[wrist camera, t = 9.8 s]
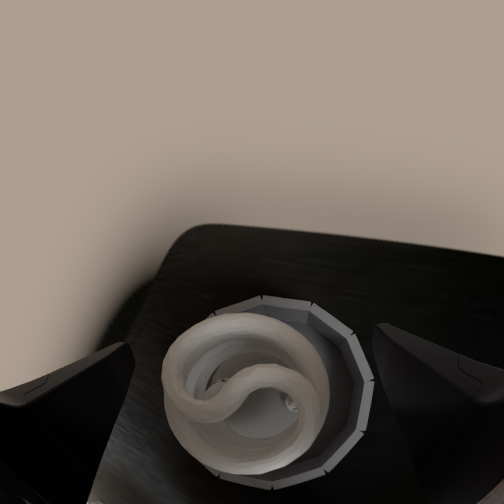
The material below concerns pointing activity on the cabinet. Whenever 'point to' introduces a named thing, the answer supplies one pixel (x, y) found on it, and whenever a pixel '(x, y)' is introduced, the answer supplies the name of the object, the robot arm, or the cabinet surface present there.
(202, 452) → the light bulb
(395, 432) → the cabinet surface
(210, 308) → the cabinet surface
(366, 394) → the bowl
